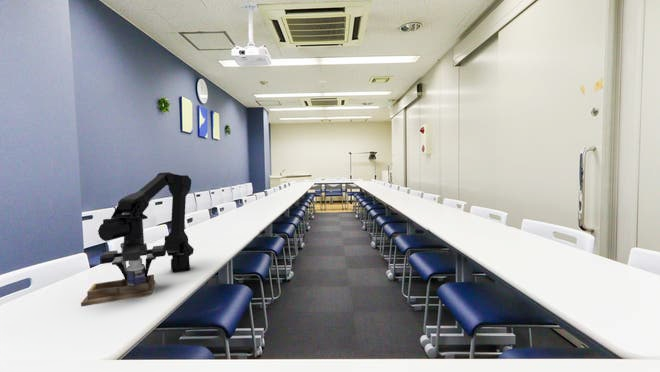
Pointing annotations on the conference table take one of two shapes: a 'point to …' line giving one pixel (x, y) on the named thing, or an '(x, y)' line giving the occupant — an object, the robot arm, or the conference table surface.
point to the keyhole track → (117, 291)
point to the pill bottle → (136, 272)
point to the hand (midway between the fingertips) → (136, 278)
